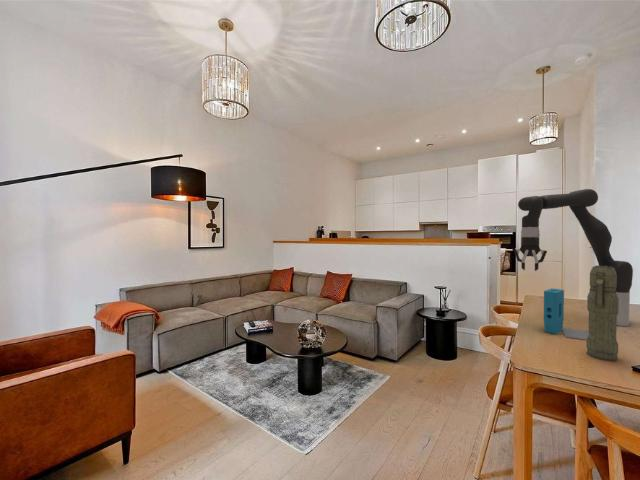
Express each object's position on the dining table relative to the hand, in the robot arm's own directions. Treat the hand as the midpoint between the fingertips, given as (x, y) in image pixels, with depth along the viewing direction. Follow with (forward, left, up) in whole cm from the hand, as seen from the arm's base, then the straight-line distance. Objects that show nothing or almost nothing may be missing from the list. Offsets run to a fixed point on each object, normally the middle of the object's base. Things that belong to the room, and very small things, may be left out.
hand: (529, 270), depth 149 cm
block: (0, +10, -29) cm, 31 cm away
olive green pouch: (+27, +22, -29) cm, 46 cm away
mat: (0, +21, -29) cm, 36 cm away
